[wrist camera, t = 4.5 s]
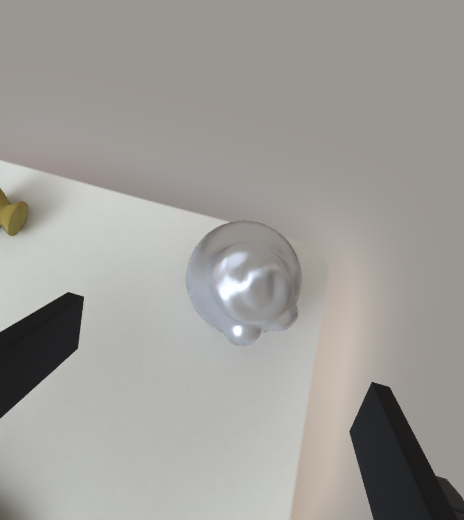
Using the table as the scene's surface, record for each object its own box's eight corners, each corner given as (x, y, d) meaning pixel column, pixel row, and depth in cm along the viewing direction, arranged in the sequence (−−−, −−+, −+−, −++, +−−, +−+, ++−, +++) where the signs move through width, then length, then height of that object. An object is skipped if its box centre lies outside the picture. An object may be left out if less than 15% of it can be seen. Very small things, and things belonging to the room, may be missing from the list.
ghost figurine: (170, 336, 27) (154, 290, 18) (207, 244, 31) (209, 171, 23) (274, 371, 26) (310, 340, 18) (298, 271, 31) (335, 208, 22)
